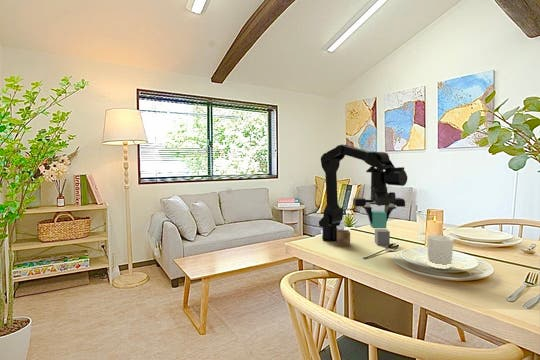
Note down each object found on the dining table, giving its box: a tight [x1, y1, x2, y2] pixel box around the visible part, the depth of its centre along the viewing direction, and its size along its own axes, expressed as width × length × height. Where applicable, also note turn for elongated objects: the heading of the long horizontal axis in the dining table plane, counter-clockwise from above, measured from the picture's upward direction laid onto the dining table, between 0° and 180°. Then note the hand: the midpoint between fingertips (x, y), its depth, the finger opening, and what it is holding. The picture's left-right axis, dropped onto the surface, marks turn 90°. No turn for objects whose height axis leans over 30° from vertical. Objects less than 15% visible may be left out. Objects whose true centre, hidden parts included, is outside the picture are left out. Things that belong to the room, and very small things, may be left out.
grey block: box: [374, 228, 391, 246], centre depth 136 cm, size 5×5×6 cm
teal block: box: [369, 210, 388, 229], centre depth 123 cm, size 5×5×6 cm
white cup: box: [426, 234, 455, 265], centre depth 107 cm, size 8×8×10 cm
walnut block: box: [336, 229, 351, 248], centre depth 134 cm, size 5×5×6 cm
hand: (378, 223), depth 123 cm, fingers closed on teal block, 5 cm apart
